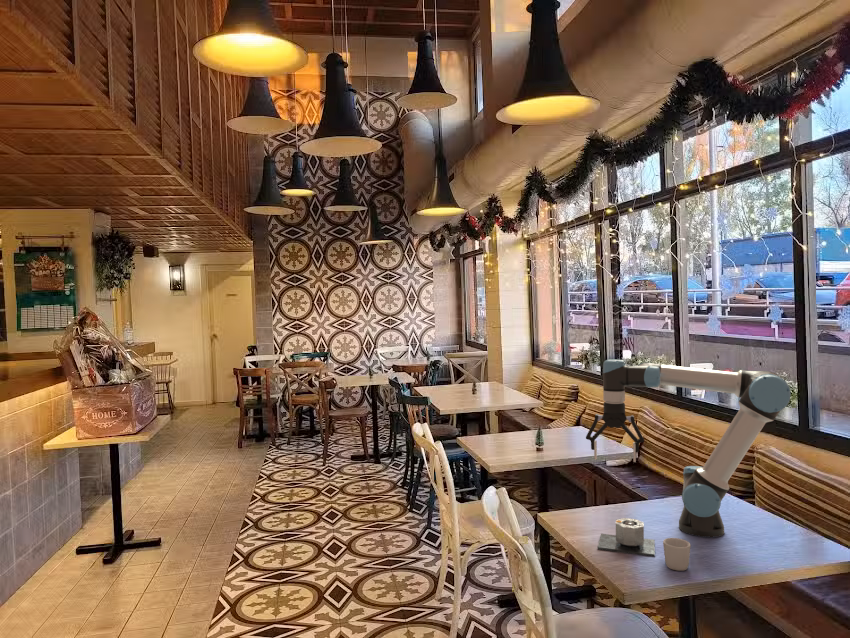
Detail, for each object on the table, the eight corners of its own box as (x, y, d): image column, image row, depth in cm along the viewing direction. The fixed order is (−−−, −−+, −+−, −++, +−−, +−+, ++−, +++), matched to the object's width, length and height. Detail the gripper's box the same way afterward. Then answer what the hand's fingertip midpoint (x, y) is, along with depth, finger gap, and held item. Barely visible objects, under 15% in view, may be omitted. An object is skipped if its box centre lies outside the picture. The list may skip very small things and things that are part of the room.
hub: (643, 537, 206) (643, 519, 206) (643, 546, 198) (643, 528, 198) (616, 534, 209) (616, 516, 209) (615, 543, 201) (615, 525, 201)
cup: (654, 559, 193) (654, 534, 193) (678, 558, 194) (677, 533, 193) (671, 574, 182) (670, 548, 182) (695, 572, 183) (695, 546, 183)
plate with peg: (654, 542, 207) (654, 519, 207) (654, 556, 195) (654, 532, 195) (601, 535, 213) (600, 513, 213) (597, 549, 201) (597, 526, 201)
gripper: (650, 401, 216) (651, 459, 216) (579, 399, 224) (580, 455, 225) (651, 404, 209) (651, 464, 209) (578, 402, 217) (579, 460, 217)
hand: (614, 460), depth 217 cm, fingers open, 13 cm apart
